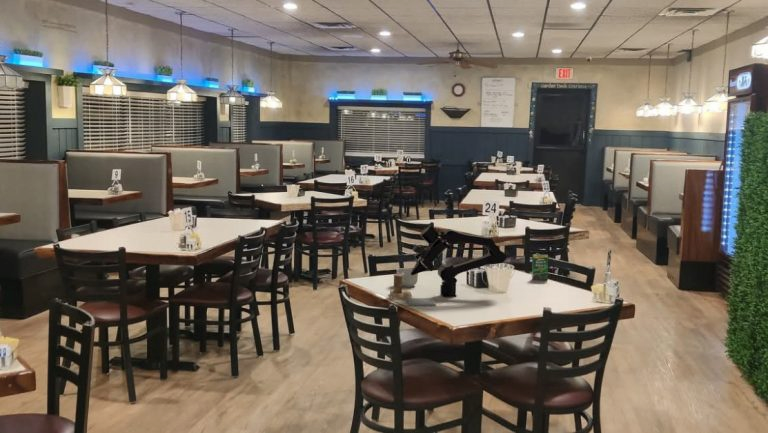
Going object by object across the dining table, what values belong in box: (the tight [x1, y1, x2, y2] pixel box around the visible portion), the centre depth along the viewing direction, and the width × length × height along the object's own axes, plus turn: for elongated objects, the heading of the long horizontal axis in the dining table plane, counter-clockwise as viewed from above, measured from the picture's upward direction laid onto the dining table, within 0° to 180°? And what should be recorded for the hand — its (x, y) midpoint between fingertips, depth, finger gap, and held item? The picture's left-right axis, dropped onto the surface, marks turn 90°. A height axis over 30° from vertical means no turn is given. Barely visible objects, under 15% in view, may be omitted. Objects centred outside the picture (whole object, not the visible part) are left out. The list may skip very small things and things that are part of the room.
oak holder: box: [389, 289, 413, 300], centre depth 344 cm, size 9×10×2 cm
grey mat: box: [405, 297, 437, 307], centre depth 332 cm, size 12×12×1 cm
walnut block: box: [393, 273, 403, 293], centre depth 343 cm, size 4×4×10 cm
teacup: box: [396, 267, 419, 288], centre depth 366 cm, size 14×11×8 cm
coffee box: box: [531, 254, 549, 281], centre depth 388 cm, size 8×3×13 cm, turn 87°
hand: (411, 274), depth 344 cm, fingers closed
